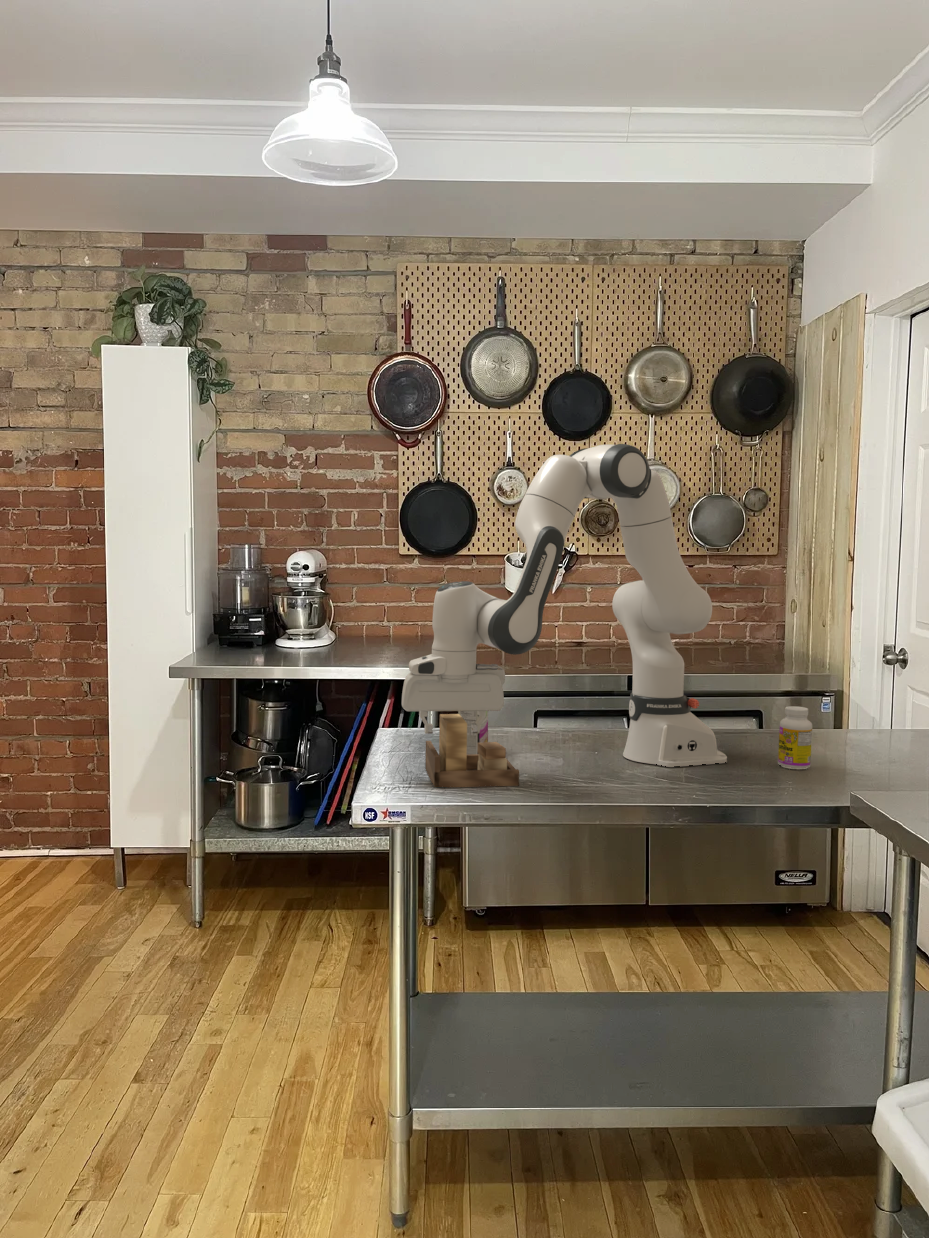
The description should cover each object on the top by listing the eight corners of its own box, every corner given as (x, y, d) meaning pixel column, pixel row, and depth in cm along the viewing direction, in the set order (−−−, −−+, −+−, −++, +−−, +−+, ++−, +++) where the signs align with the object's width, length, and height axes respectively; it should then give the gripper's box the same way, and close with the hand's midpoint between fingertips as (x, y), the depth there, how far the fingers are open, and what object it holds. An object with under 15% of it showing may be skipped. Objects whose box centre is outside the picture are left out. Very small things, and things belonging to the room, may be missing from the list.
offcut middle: (500, 763, 194) (500, 751, 194) (506, 772, 186) (507, 760, 186) (478, 763, 194) (478, 751, 194) (484, 772, 186) (484, 760, 186)
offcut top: (496, 751, 194) (496, 741, 193) (505, 758, 188) (505, 748, 188) (477, 752, 193) (477, 742, 192) (486, 759, 187) (486, 749, 187)
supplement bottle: (771, 764, 206) (774, 705, 205) (798, 762, 208) (801, 704, 207) (789, 771, 200) (792, 711, 199) (816, 770, 201) (819, 710, 200)
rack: (503, 767, 198) (504, 739, 198) (518, 785, 184) (519, 755, 184) (425, 769, 196) (425, 740, 195) (434, 787, 182) (434, 756, 181)
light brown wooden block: (458, 771, 195) (459, 713, 194) (466, 784, 185) (467, 723, 184) (438, 772, 194) (439, 714, 193) (445, 784, 184) (446, 723, 183)
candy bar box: (466, 749, 216) (467, 677, 214) (488, 750, 215) (489, 678, 213) (456, 760, 205) (457, 684, 203) (479, 761, 204) (480, 685, 202)
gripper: (502, 662, 192) (500, 729, 193) (401, 661, 189) (400, 730, 190) (508, 666, 186) (506, 735, 187) (404, 665, 183) (403, 736, 184)
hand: (452, 733), depth 188 cm, fingers open, 8 cm apart
